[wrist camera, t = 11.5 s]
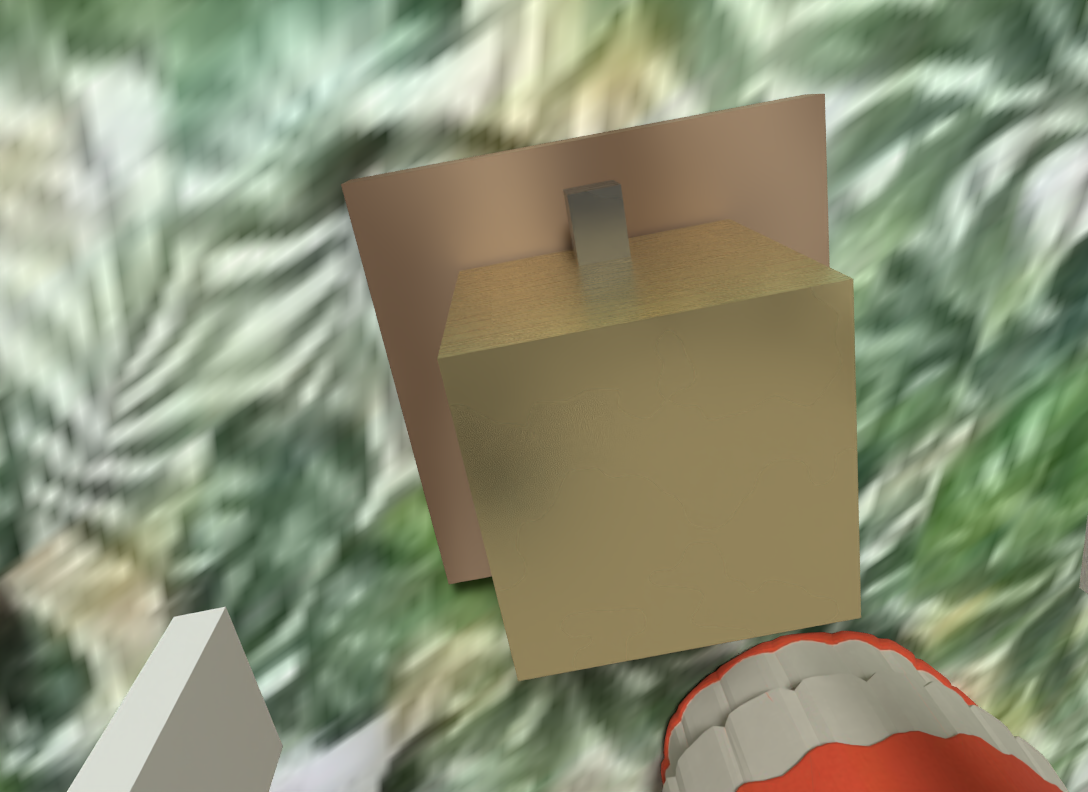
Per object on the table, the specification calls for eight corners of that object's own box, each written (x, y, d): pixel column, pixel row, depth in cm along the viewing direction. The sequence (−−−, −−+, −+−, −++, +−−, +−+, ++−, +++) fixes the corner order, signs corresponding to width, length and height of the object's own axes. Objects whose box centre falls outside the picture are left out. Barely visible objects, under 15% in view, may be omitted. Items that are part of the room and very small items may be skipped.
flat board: (451, 561, 23) (435, 708, 18) (350, 179, 19) (285, 211, 13) (819, 494, 23) (924, 621, 18) (805, 94, 19) (939, 88, 13)
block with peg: (444, 208, 18) (413, 264, 12) (723, 153, 18) (850, 179, 11) (522, 551, 22) (533, 739, 15) (753, 507, 22) (862, 678, 15)
